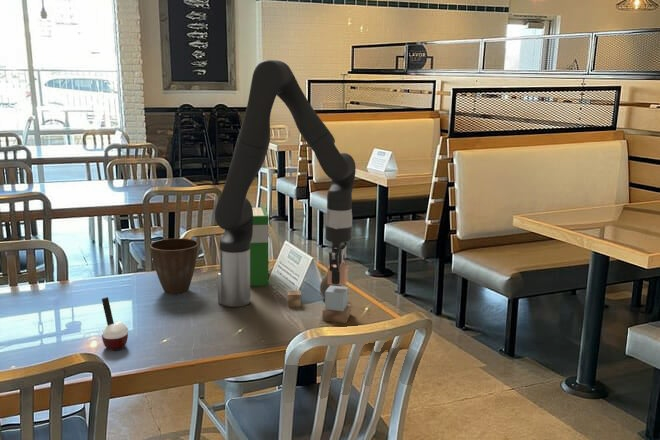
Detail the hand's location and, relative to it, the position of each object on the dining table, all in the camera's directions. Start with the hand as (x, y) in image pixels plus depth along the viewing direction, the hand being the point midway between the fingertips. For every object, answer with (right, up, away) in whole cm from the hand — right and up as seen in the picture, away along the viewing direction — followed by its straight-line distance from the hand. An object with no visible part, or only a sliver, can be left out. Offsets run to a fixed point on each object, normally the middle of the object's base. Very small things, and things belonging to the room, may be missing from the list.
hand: (337, 280), depth 182 cm
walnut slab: (0, -11, +3) cm, 12 cm away
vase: (-2, -8, +18) cm, 20 cm away
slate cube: (0, -8, +2) cm, 8 cm away
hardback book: (-28, -3, +37) cm, 47 cm away
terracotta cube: (0, 0, 0) cm, 0 cm away
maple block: (-13, -9, +12) cm, 20 cm away
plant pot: (-52, -6, +21) cm, 57 cm away
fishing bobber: (-58, -15, -20) cm, 63 cm away
